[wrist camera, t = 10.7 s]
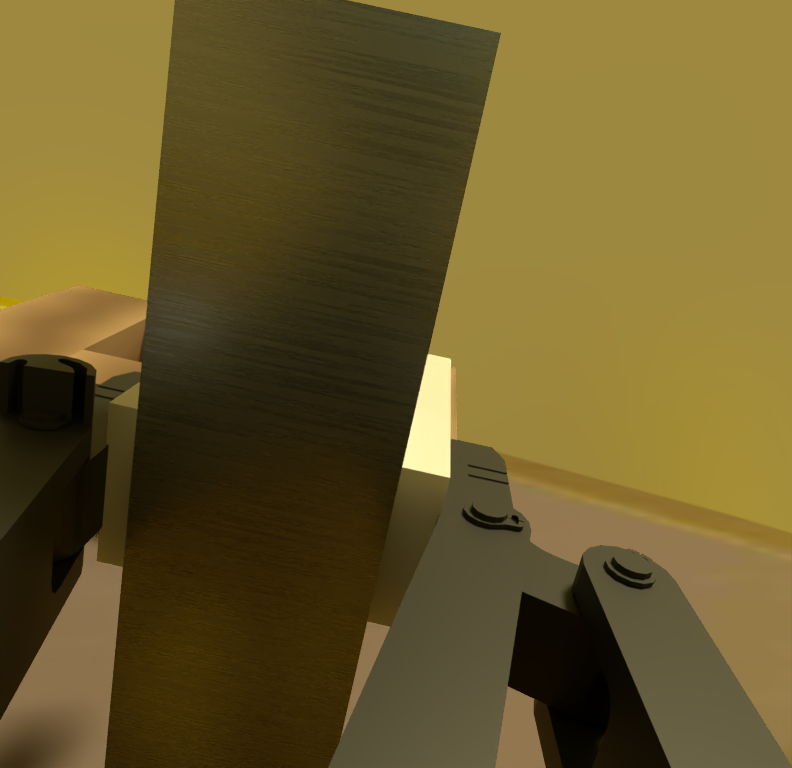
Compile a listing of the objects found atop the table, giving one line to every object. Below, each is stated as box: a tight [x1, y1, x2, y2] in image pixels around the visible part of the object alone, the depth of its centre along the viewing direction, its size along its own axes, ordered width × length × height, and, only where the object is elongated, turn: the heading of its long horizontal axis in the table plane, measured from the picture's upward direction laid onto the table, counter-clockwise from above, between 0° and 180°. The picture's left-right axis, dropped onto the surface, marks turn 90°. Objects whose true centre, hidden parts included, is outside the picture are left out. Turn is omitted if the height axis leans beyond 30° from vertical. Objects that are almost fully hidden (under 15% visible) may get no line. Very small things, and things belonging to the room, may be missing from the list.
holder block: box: [0, 285, 457, 440], centre depth 31 cm, size 20×12×5 cm, turn 86°
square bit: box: [105, 0, 501, 768], centre depth 12 cm, size 4×4×16 cm
